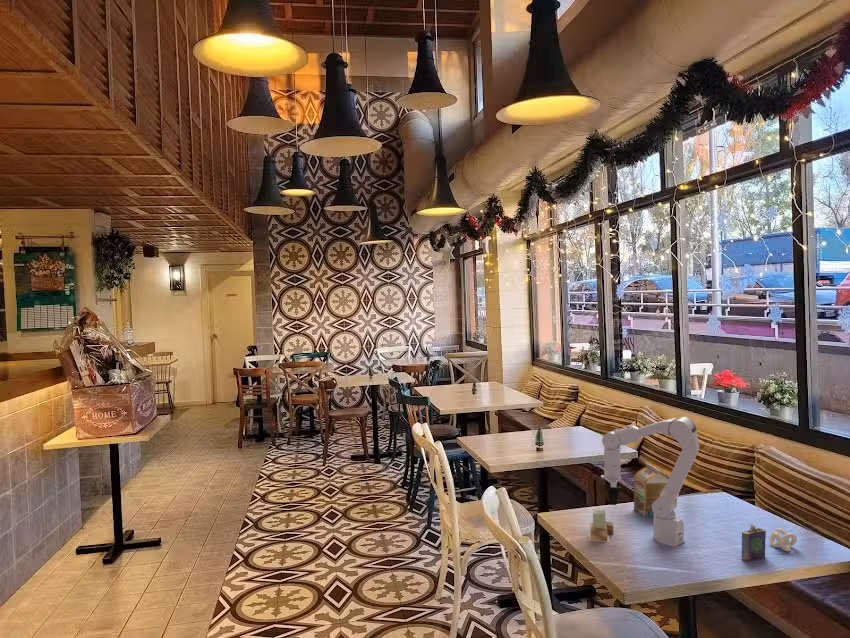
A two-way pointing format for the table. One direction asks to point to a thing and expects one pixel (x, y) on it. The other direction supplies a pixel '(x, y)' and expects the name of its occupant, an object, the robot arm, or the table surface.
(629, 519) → the table surface
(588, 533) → the build mat
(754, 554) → the flask
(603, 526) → the sage block
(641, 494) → the milk carton
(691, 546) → the table surface
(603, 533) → the oak block
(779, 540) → the knot
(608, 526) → the walnut block
